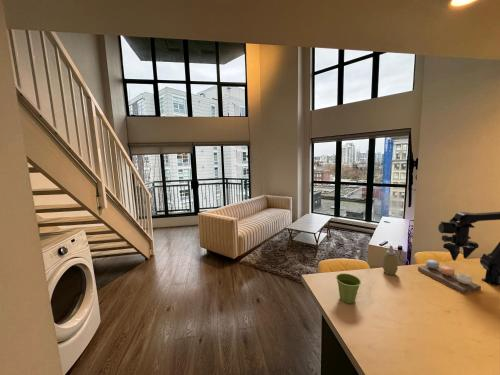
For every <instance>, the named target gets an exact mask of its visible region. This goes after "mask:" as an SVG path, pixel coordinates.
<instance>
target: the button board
mask: <svg viewBox="0 0 500 375" xmlns="http://www.w3.org/2000/svg"><path fill="white" fill-rule="evenodd" d="M417 271H419V272H420V273H423V274H424V275H426V276H428V277H430V278H432V279H434V280H436V281H438V282H440V283H442V284H444V285H446V286H447V287H449V288H451V289H453V290H455V291H457V292H459V293H461V294H469V293H475V292H481V290H482V286H481V285H479V284H477V283H474V282H473V281H472V284H466V285H463V284H462V283H461V282H459V281H457V274H455V273H454V276H449V277H446V276H445V275H444V274H442V273H441V272H440V271H441V266H439V268H438V269H434V270H432V269H431V268H430V267H428V266H426V265H421V266H418V267H417Z"/></svg>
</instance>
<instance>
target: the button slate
mask: <svg viewBox="0 0 500 375" xmlns="http://www.w3.org/2000/svg"><path fill="white" fill-rule="evenodd" d="M425 266H428V267H430V268H431V269H432V270H434V269H438V268H439V267H440V262H439V261H438V260H435V259H434V260H433V259H426V265H425Z"/></svg>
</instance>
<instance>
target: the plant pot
mask: <svg viewBox="0 0 500 375" xmlns="http://www.w3.org/2000/svg"><path fill="white" fill-rule="evenodd" d="M335 279H336V281H337V287H338V294H339V298H340V300H341V301H342V302H343V303H346V304H354V303H355V302H356V299H357V295H358V291H359V288H360V286H361V284H362V280H361V279H360V278H359V277H357V276H355V275H353V274H351V273H343V272H342V273H339V274H337V275H336V276H335Z"/></svg>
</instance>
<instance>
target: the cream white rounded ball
mask: <svg viewBox="0 0 500 375" xmlns="http://www.w3.org/2000/svg"><path fill="white" fill-rule="evenodd" d="M456 275H457V281H459V282H461V283H462V284H463V285H466V284H472V282H473V276H471V275H468V274H466V273H461V272H459V273H458V272H457V274H456Z"/></svg>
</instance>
